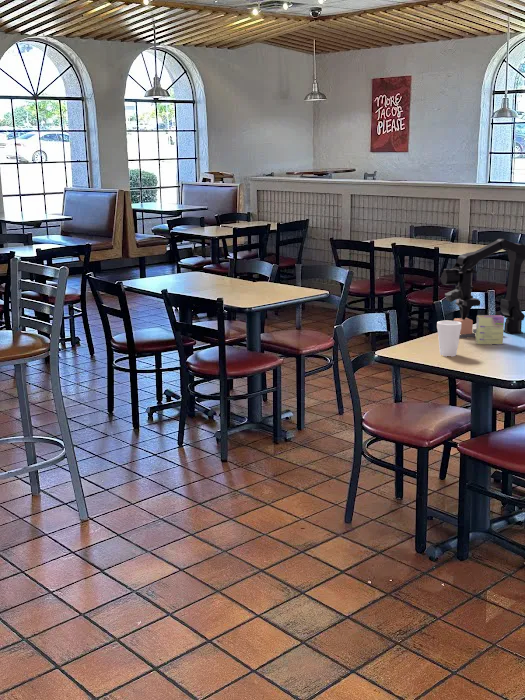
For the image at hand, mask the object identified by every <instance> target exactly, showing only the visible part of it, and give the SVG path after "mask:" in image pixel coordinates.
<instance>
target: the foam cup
mask: <svg viewBox="0 0 525 700" xmlns="http://www.w3.org/2000/svg"><path fill="white" fill-rule="evenodd" d="M436 329H437V337H438V347H439V348H438V350H439V355H440V356H441V355H443V356H442V357H447V356H451V357H456V356H457V353H458V352H457V351H458V348H459V343H460V338H459V336H460V331H461V322H458V321H454V320H440V321H439V320H438V321H437V322H436Z"/></svg>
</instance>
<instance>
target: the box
mask: <svg viewBox="0 0 525 700" xmlns="http://www.w3.org/2000/svg"><path fill="white" fill-rule="evenodd" d="M476 324H477V327H476V328H475V329H476V334H475V343H476V342H477V343H476V344H477V345H492V344H503V343H504V341H503V340H504V331H503V330H504V326H505V318H504V315H496V314H495V315H494V314H477V315H476Z"/></svg>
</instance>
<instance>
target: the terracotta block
mask: <svg viewBox="0 0 525 700" xmlns="http://www.w3.org/2000/svg"><path fill="white" fill-rule="evenodd" d="M453 321H458V322H461V331H460V334H461V335H462V334H472V333H473V325H474V324H473V323H474V321H473V319H471V318H468V317H466V318H465V319H462V317H459V318H458V317H457V318H456V317H455V318H453Z"/></svg>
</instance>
